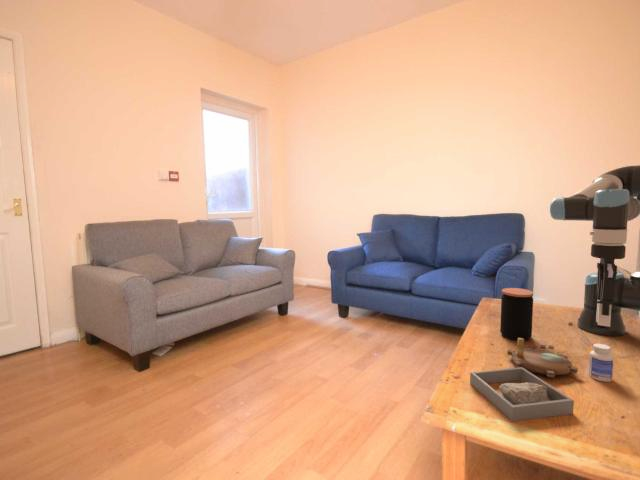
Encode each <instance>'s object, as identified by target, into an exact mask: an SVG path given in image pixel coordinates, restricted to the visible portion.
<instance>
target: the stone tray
mask: <svg viewBox="0 0 640 480" xmlns="http://www.w3.org/2000/svg"><path fill="white" fill-rule="evenodd" d="M469 376H470V379H469V384H470V385H471V386H472V387H474V389H475V390H477V391H478V392H479V394H481V395H483V396H484V398H486V399H487V400H488V401H489V402H490V403H491V404H492V405H493V406H495V407H496V408H497V409H498V410H499V411H500V412H501V413H502V414H503V415H505V416H506V418H508V419H509V420H510V421H511V422H515V421H524V420H525V421H526V420H533V419H541V418H548V417H550V418H551V417H555V416H556V417H559V416H565V415H573V414H574V403H575V402H574V401H575V400H574V399H572V398H571V397H569V396H568V395H567V394H565V393H563V392H562V391H560V390H559V389H557V388H555V387H554V386H552V384H549V383H548V382H546V381H545V380H543V379H541V378H540V377H538V376H536V375H535V373H534V374H533V372H530V371H528V370H526V369H525V368H523V367H509V368H499V369H489V370H479V371H470V375H469ZM514 381H522V383H525V382H528V383H535V384H539V385H543V386H545V387H546V392H547V396H548V398H549V400H550V401H545V402H537V403H528V404H519V405H513V404H511V403H510V402H509V401H508V400H506V399H505V397H504V396H503V394H501V393H499V392H498V391H497V390H496V389H495V388H493V387H492V386H491V385H489V384H494V383H496V384H497V383H505V382H506V383H507V382H514Z"/></svg>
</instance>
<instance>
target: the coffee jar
mask: <svg viewBox="0 0 640 480" xmlns="http://www.w3.org/2000/svg"><path fill="white" fill-rule="evenodd" d="M501 293H502V295H501V302H500V304H501V306H500V329H499V330H500V334H501V336H502V337H504V338H506V339H509V340H511V341H517V342H518V338H523V339H524V342H526V341H528V340H530V339H531V338H532V333H533V332H532V331H533V315H534V314H533V312H534V311H533V310H534V298H533V297H534V291H531V290H529V289H525V288H518V287H507V288H502V289H501Z"/></svg>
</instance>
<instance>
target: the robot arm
mask: <svg viewBox="0 0 640 480" xmlns="http://www.w3.org/2000/svg"><path fill="white" fill-rule="evenodd" d="M549 213H550V217H551V218H552V219H553V220H557V221H577V222H578V221H582V222H583V221H584V222H585V221H586V222H587V221H588V222H590V221H591V222H592V231H590V232H589V236H591V242H592V244H591V246H590V256H591V257H592V258H596V259H599V260H600V261H599V262H597V263H596V268H597V272H591V273H588V274H587V275H586V277H585V282H584V296H583V309H582V311H581V313H580V315H579V317H578V319H577V322H576V323H577V327H578V328H579V329H581V330H583V331H586V332H590V333H593V334H597V335H602V336H612V337H613V336H614V337H618V336H624V335H626V329H627V327H626V325H625V322H624V320H623V316H622V309H627V310H632V311H638V312H640V229H639V231H638V243H637V257H636V268H635V270H634V271H633V272H631V273H630V274H629V278H627V277H625V275H624V273H622V272H618V264H617V265H616V263H615V260H622V259H625V258H626V248H627V247H626V245H624V244H627V238H628V222H629V221H630V222H631V221H633V220H634V219H636V218H638V217H639V216H640V164H639V165H628V166H622V167H618V168H614V169H613V170H609V171H607V172H604V173H602V174H600V175H599V176H597V177H595V178H594V179H593V180H592V181H591V183H590V184H589V185H587V186H585V187H584V188H582V189H581V190H578V191H577V192H575V193H574V194H572V195H570V196H569V197H563V196H562V197H555V198H553V200H552V201H551V202H550V205H549Z"/></svg>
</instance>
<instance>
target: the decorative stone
mask: <svg viewBox="0 0 640 480" xmlns="http://www.w3.org/2000/svg"><path fill="white" fill-rule="evenodd" d="M498 389H499V391H500V394H501V395H502V396H503V397H504V398H505V399H506V400H508V401H509V402H510V403H511V404H513V405H519V404H528V403H537V402H545V401H551V400H549V398H548V396H547V392H546V387H545V386H543V385H539V384H535V383H528V382H521V383H518V382H517V383H515V382H506V383H505V382H504V383H501V384H500V385H499V386H498Z"/></svg>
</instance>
